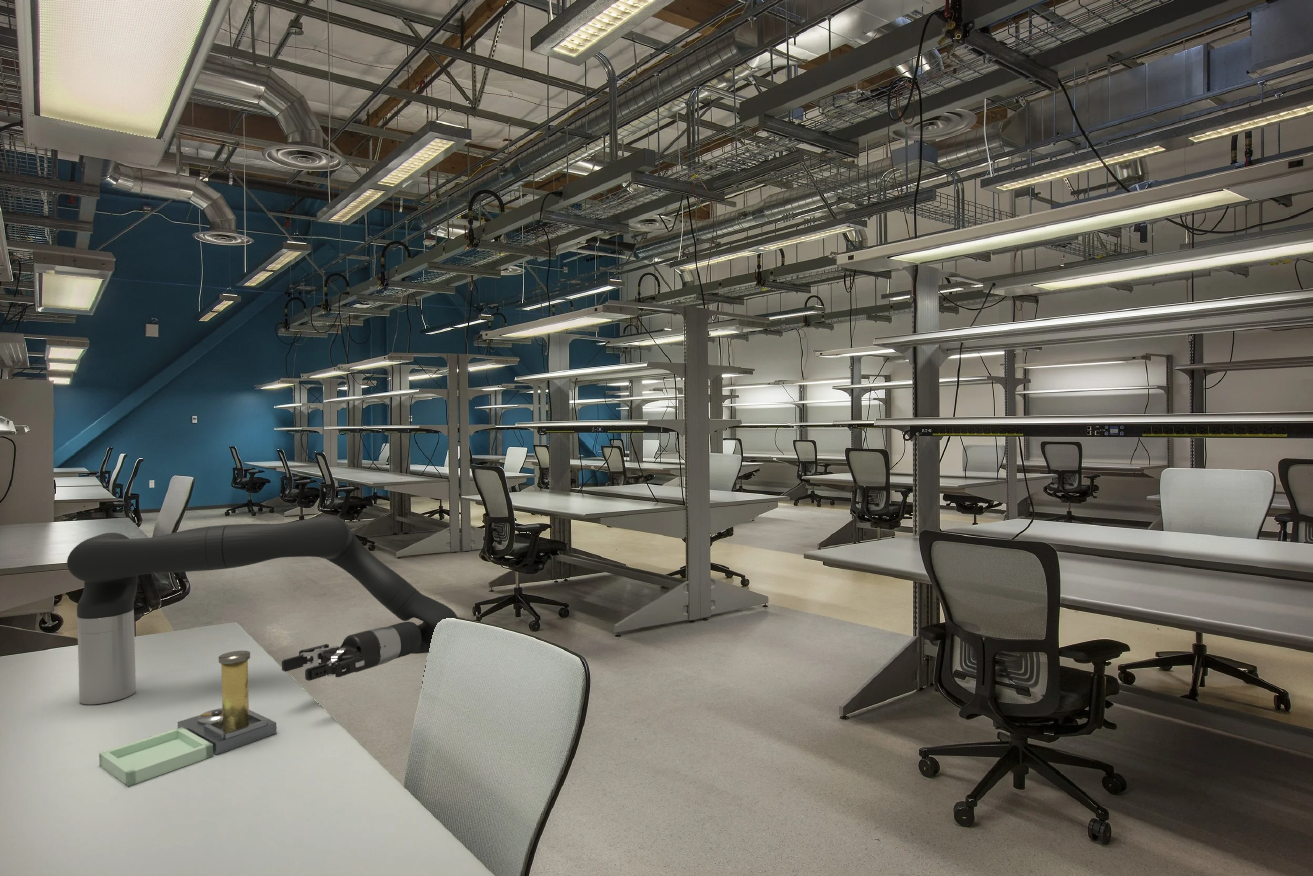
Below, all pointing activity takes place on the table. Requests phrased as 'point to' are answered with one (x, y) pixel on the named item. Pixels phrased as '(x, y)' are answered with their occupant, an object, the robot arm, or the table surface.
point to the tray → (155, 755)
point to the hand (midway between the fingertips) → (294, 670)
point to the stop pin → (235, 689)
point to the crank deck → (212, 731)
